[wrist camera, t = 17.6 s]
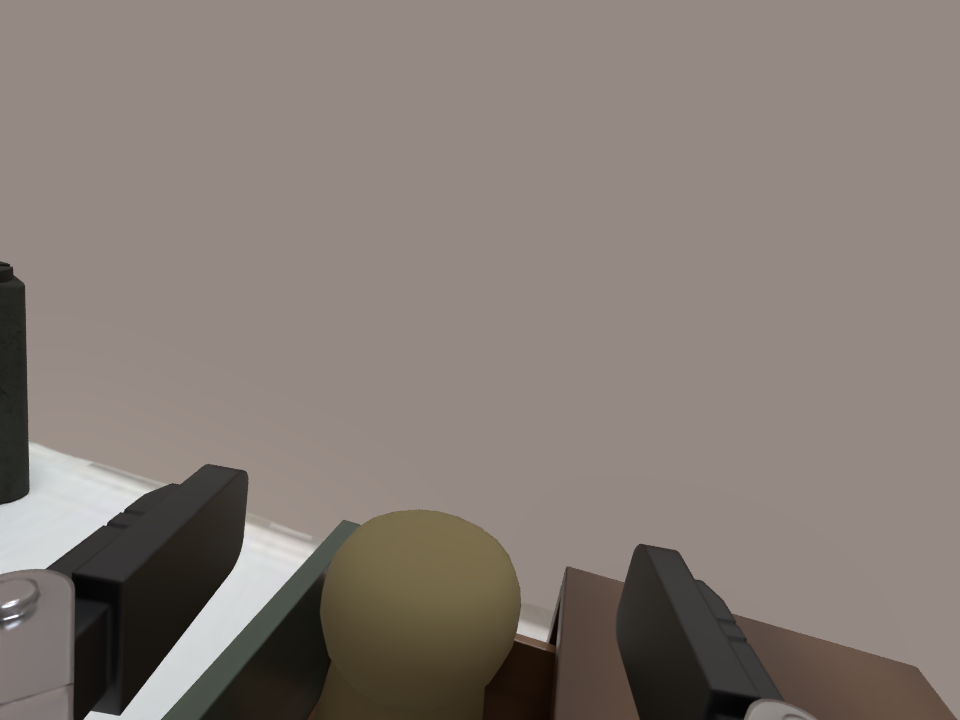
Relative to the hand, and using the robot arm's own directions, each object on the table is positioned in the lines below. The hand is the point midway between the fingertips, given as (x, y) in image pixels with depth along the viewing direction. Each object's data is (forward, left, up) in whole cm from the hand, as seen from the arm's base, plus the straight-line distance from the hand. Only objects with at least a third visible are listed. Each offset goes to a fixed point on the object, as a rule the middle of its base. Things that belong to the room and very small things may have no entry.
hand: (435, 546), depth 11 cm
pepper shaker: (-1, +3, -13) cm, 13 cm away
